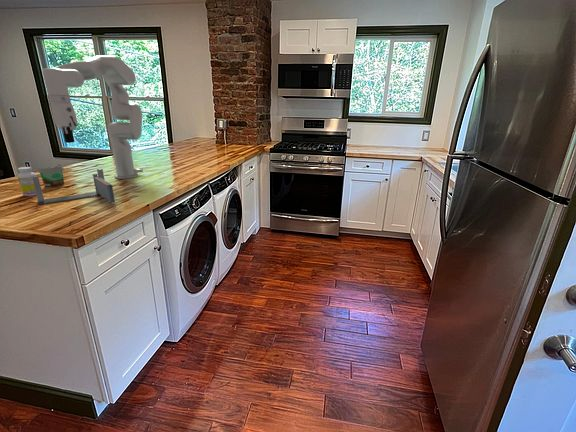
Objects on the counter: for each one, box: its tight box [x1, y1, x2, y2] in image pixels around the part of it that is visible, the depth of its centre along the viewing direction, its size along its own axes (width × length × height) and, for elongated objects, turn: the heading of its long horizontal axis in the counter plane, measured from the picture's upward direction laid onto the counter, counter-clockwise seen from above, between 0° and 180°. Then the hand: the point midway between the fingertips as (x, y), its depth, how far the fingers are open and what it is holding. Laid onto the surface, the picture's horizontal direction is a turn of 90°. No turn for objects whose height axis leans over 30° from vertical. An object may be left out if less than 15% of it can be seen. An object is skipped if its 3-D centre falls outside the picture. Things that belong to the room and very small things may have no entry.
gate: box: [92, 173, 116, 204], centre depth 141 cm, size 22×2×9 cm, turn 46°
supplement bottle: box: [17, 166, 37, 197], centre depth 143 cm, size 7×7×13 cm
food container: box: [37, 163, 65, 188], centre depth 159 cm, size 12×6×10 cm, turn 168°
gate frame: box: [32, 168, 106, 206], centre depth 141 cm, size 28×6×12 cm, turn 134°
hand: (70, 142), depth 139 cm, fingers closed
